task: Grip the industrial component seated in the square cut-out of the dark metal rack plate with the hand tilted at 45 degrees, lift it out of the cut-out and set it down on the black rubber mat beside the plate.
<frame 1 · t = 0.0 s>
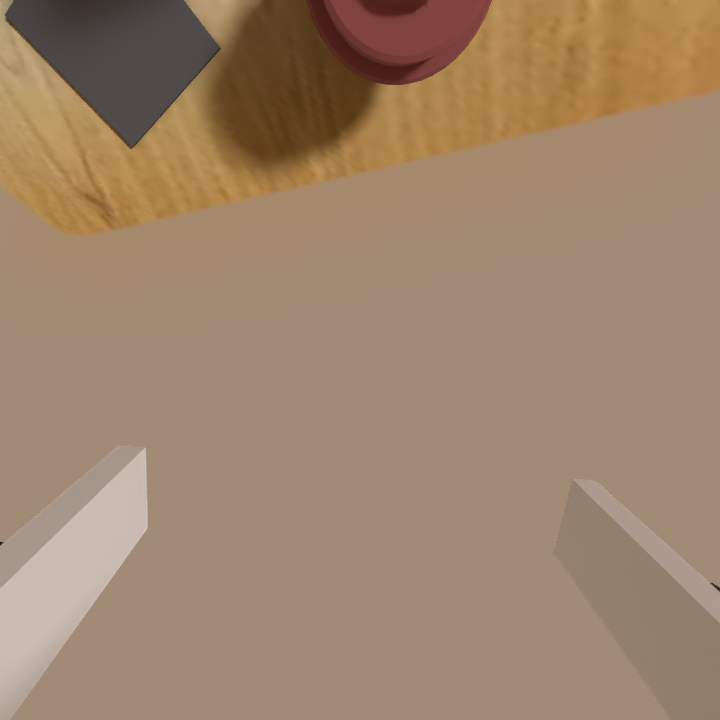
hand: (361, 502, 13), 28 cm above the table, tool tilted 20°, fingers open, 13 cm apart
rubber mat: (116, 32, 28), on the table
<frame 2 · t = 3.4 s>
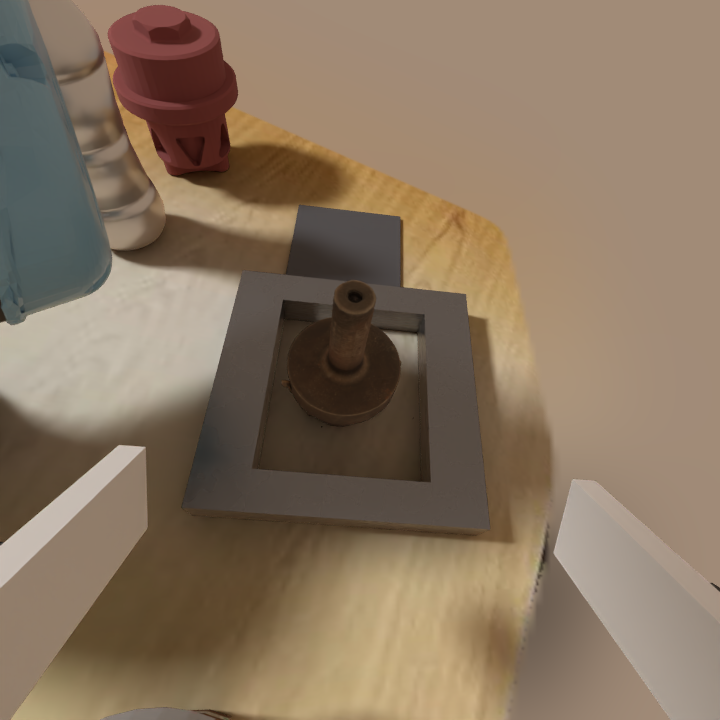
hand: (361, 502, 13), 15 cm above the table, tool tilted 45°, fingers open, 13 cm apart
industrial component: (349, 399, 31), resting in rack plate
mechanical component: (198, 163, 43), on the table
rubber mat: (346, 249, 38), on the table
plastic bottle: (133, 235, 37), on the table
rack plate: (346, 397, 31), on the table
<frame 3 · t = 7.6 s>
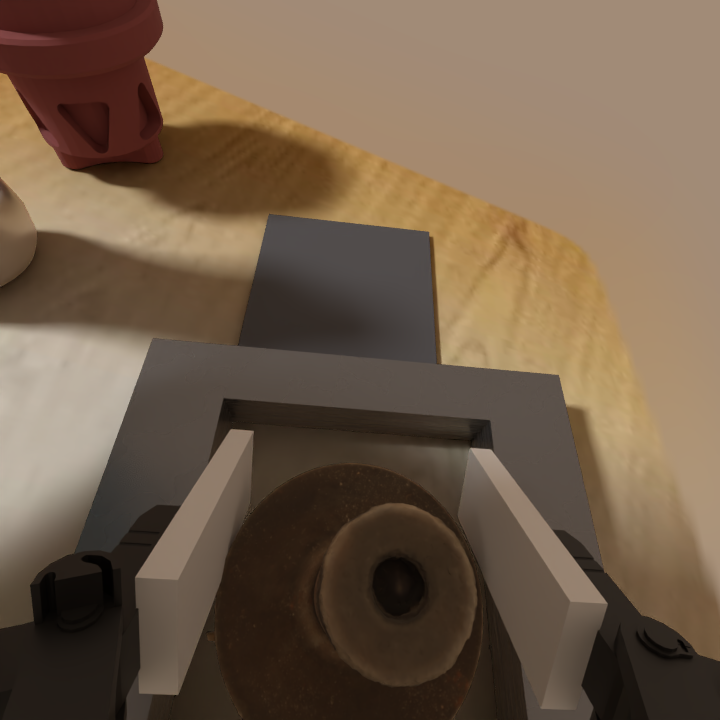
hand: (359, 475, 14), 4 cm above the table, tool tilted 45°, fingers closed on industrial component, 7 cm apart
industrial component: (360, 598, 16), resting in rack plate, touching gripper
mechanical component: (116, 151, 28), on the table
rubber mat: (344, 287, 23), on the table
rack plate: (345, 592, 16), on the table
when the fingers open (5 cm above the table, at t = 13.2 s): industrial component drops 1 cm, resting on rubber mat.
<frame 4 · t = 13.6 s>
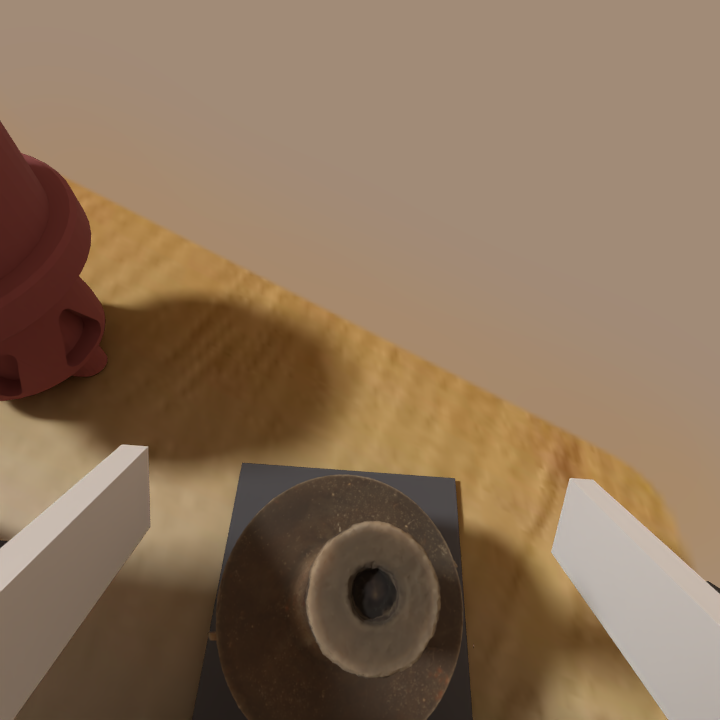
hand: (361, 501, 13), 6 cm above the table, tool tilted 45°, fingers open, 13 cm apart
industrial component: (353, 600, 17), resting on rubber mat
mechanical component: (46, 354, 21), on the table
rubber mat: (342, 593, 17), on the table
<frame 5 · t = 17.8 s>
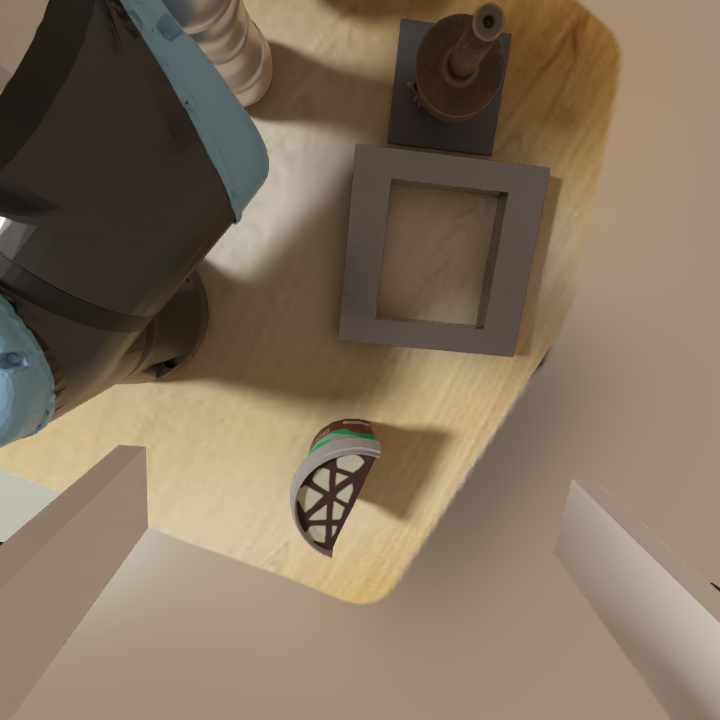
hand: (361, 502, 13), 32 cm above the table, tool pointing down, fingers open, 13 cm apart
industrial component: (452, 93, 38), resting on rubber mat
rubber mat: (447, 90, 38), on the table
food container: (327, 447, 47), on the table
plastic bottle: (240, 76, 38), on the table, touching arm
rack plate: (434, 257, 42), on the table
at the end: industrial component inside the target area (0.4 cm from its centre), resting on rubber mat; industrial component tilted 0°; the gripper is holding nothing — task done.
